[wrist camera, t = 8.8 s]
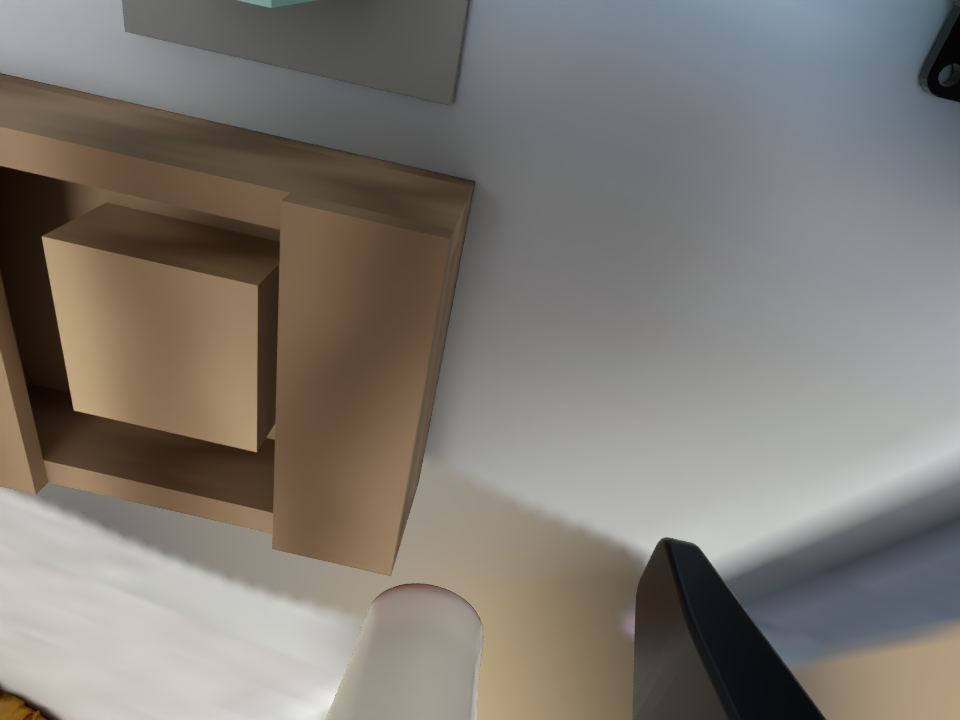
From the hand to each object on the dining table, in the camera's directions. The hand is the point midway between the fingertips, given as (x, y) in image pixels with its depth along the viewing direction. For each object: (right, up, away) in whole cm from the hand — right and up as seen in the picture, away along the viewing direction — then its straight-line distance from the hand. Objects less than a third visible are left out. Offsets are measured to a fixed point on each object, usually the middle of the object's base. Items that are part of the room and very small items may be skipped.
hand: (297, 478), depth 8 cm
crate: (-7, +3, +14) cm, 16 cm away
